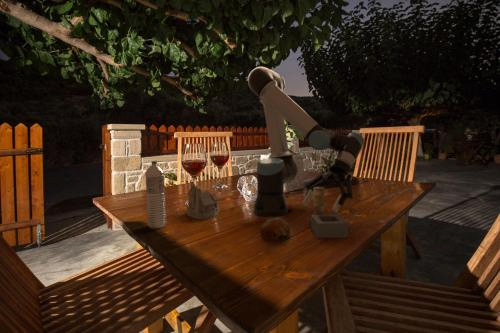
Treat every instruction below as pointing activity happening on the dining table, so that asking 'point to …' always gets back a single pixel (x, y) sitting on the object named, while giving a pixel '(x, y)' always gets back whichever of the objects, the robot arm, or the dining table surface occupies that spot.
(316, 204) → the dowel
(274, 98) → the robot arm
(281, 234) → the bread roll
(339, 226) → the socket
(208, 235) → the dining table surface
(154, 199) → the water bottle
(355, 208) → the dining table surface
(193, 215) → the ceramic cottage
